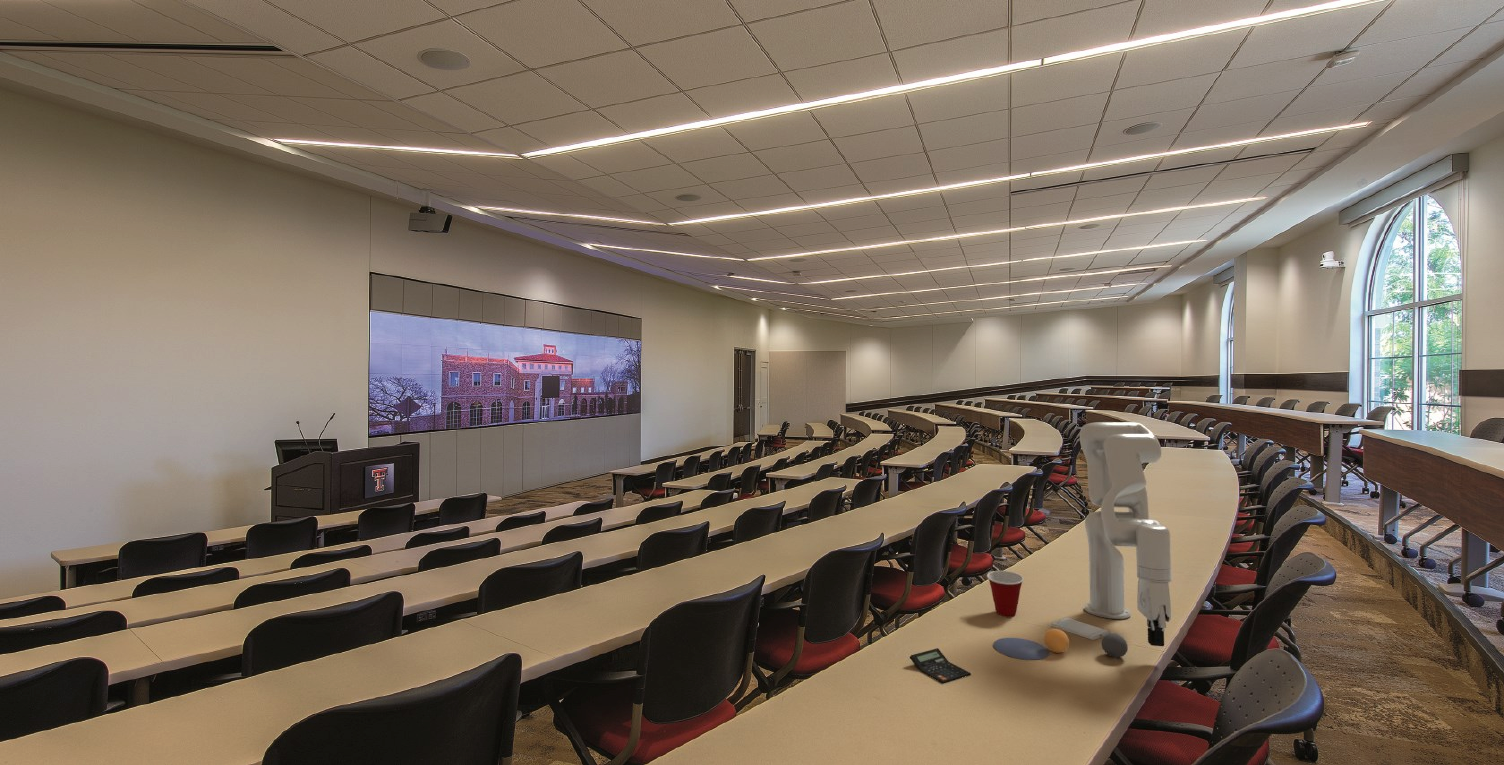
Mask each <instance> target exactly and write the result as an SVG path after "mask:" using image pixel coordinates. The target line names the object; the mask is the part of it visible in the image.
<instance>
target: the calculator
mask: <svg viewBox="0 0 1504 765" xmlns="http://www.w3.org/2000/svg"><path fill="white" fill-rule="evenodd" d="M909 659H910V660H911V661H912V664H914V666H915V667H916V668H917V670H920V671H919V672H921V673H923V674H925V675H926V674H927V675H926V676H928V677H930V676H931V677H930V678H932V677H933V678H934V679H933V678H932V679H933V680H935V679H936V681H937V680H938V681H937V682H939V683H941V684H946V683H951V682H953V681H957V680H960V679H963V678H966V677H969V676H971V675H972V673H971V672H970V671H968V670H966V669H965V668H962V667H960V666H959V665H956V664H954V663H952V662H950V661H949V660H948V659H947V657H946V656H945V654H944V653H943V652H942V651H941V650H940V649H939V647H937V648H933V649H930V650H926V651H923V652H917V653H914V654H911V655H910V656H909ZM965 676H966V677H965ZM962 677H963V678H962Z"/></svg>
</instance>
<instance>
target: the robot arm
mask: <svg viewBox="0 0 1504 765" xmlns="http://www.w3.org/2000/svg"><path fill="white" fill-rule="evenodd" d="M1079 443H1080V447H1081V449H1082V452H1083V455H1084V457H1085V461H1086V465H1087V481H1088V482H1087V485H1088V495H1089V497H1088V498H1089V500H1090V502H1091V504H1093V505H1094V506H1097V507H1100V508H1101V509H1100V510H1099V511H1098V510H1097V511H1093V512H1090V513H1088V515H1087V516H1086V517H1085V521H1084V525H1085V532H1086V537H1087V544H1088V546H1087V547H1088V562H1089V564H1088V568H1089V576H1088V577H1089V578H1088V579H1089V602H1087V603H1085V604H1084V610H1085V611H1086V612H1087V613H1089V614H1091V615H1093V616H1097V617H1100V618H1104V619H1111V620H1123V619H1128V618H1129V617H1131V614H1132V612H1131V610H1130V609H1129V608H1127V607H1126V606H1125V604H1126V601H1125V565H1124V564H1125V562H1124V561H1125V560H1124V557H1123V554H1122V553H1121V551H1120V550H1119V549H1118V548H1117V547H1125V548H1126V547H1129V548H1130V547H1131V548H1136V549H1135V551H1136V553H1135V554H1136V576H1137V578H1138V580H1137V596H1136V597H1137V601H1136V602H1137V611H1139V613H1140V614H1142V616H1144V617H1145V618H1146V626H1147V642H1148V644H1149V645H1150V646H1154V647H1164V646H1165V629H1167V623H1169V622H1170V621H1171V620H1172V605H1171V604H1172V603H1171V602H1172V600H1171V593H1170V585H1169V583H1171V582H1172V556H1171V555H1172V554H1171V533H1170V529H1169V528H1168V527H1166V526H1164V525H1163V524H1161V522H1160V521H1158V520H1156V519H1150V517H1149V503H1148V501H1149V498H1148V491H1147V488H1146V485H1147V481H1146V480H1147V479H1146V476H1145V473H1144V469H1143V465H1142V463H1144V464H1146V463H1149V464H1153V463H1157V462H1158V461H1159V460H1160V459H1161V457H1162V447H1161V444H1160V441H1159V440H1158V438H1157V436H1156V435H1155V434H1154V433H1153V432H1152V431H1151V430H1150V429H1149V428H1147V427H1146V426H1145V425H1144V424H1142V423H1139V422H1129V421H1128V422H1127V421H1126V422H1125V421H1124V422H1123V421H1121V422H1118V421H1116V422H1115V421H1102V422H1101V421H1100V422H1099V421H1098V422H1097V421H1096V422H1089V423H1086V424H1083V425H1082V427H1081V428H1080V431H1079ZM1115 508H1127V510H1128V511H1115Z"/></svg>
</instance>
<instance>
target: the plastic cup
mask: <svg viewBox="0 0 1504 765" xmlns="http://www.w3.org/2000/svg"><path fill="white" fill-rule="evenodd" d="M986 577H987V579H988V581H989V585H990V588H991V594H992V599H993V604H994V609H995V612H996V614H997V615H998V616H1002V617H1015V616H1016V614H1017V612H1018V604H1019V599H1020V592H1021V588H1022V584H1023V582H1024V579H1025V578H1024V576H1023V575H1022V574H1020V573H1016V572H1014V571H1009V570H995V571H990V572H988V573H987V575H986Z"/></svg>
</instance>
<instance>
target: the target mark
mask: <svg viewBox="0 0 1504 765" xmlns="http://www.w3.org/2000/svg"><path fill="white" fill-rule="evenodd" d="M993 648H994V649H995V650H996V651H997V652H998V651H999V652H998V653H1000V654H1002V655H1004V656H1007V657H1010V658H1013V659H1017V658H1019V660H1026V661H1037V660H1043V659H1045V658H1048V657H1049V655H1050V651H1049V650H1050V649H1049V648H1048V647H1047V646H1046V645H1043V644H1041V643H1039V642H1036V641H1034V640H1030V639H1026V638H1020V637H1004V638H999V639H996V640H995V641H993Z"/></svg>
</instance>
